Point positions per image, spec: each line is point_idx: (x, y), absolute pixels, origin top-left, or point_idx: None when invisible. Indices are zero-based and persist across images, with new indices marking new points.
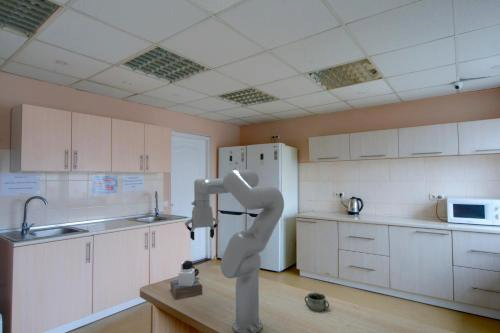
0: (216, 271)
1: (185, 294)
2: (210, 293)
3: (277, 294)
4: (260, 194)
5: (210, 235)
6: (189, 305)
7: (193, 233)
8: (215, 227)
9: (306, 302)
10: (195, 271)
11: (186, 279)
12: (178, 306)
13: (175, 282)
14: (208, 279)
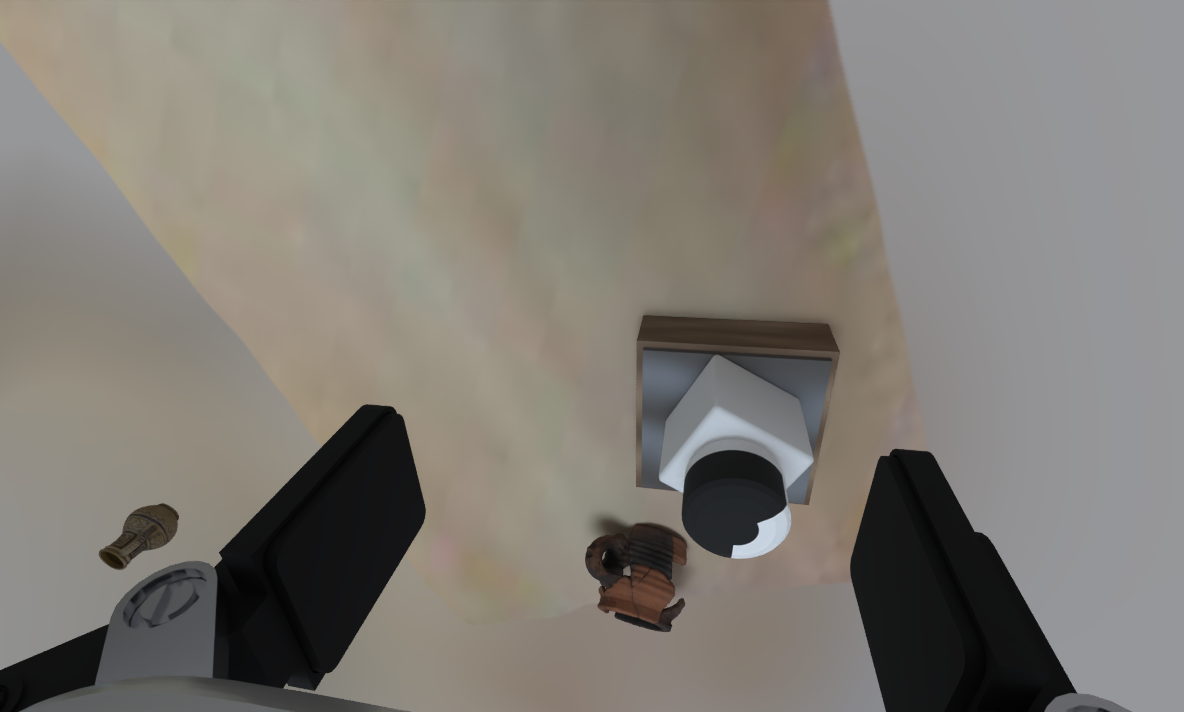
0: (475, 555)
1: (760, 330)
2: (591, 304)
3: (183, 74)
4: None
5: (405, 520)
6: (778, 196)
7: (995, 609)
8: (94, 634)
9: None
10: (605, 564)
11: (751, 397)
12: (852, 218)
13: None
14: (546, 487)
